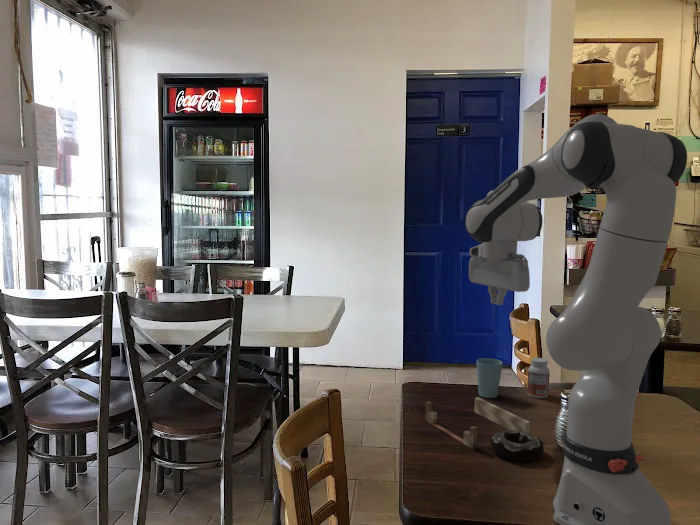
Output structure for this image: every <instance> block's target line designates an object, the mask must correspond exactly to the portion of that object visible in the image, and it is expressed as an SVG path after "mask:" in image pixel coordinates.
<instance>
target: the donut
mask: <svg viewBox="0 0 700 525" xmlns="http://www.w3.org/2000/svg"><path fill="white" fill-rule="evenodd" d="M490 446H491V449H492V450H493V452H494V453H495V454H496V455H497V456H498V457H501V458H502V459H505V460H507V461H512V462H517V463H518V462H519V463H528V462H534V461H537V460H539V459H540V458H541V457H542V455H543V454H544V452H545V451H544V444H543V442H542V441H541V440H540V438H539V437H537V436H536V435H533V434H531V433H530V432H529V433H526V432H523V431H516V430H508V429H506V430H502V431H498V432H497V433H495V434H494V435H493V436H492V438H491V442H490Z"/></svg>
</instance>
